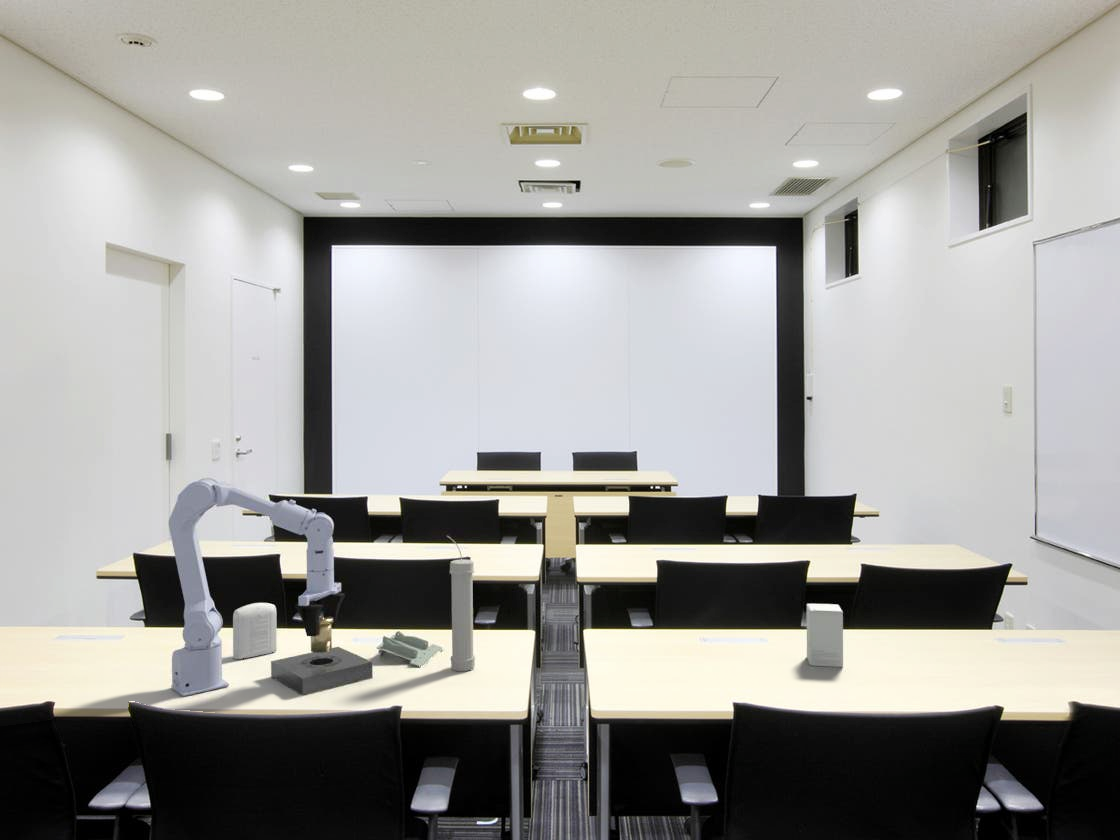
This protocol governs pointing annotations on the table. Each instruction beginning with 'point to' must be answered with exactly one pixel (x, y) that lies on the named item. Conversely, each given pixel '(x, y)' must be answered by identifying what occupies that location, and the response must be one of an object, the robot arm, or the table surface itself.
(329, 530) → the robot arm
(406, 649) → the metal bracket
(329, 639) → the round door knob
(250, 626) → the white rounded block
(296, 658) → the grey flat block
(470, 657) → the pipe
